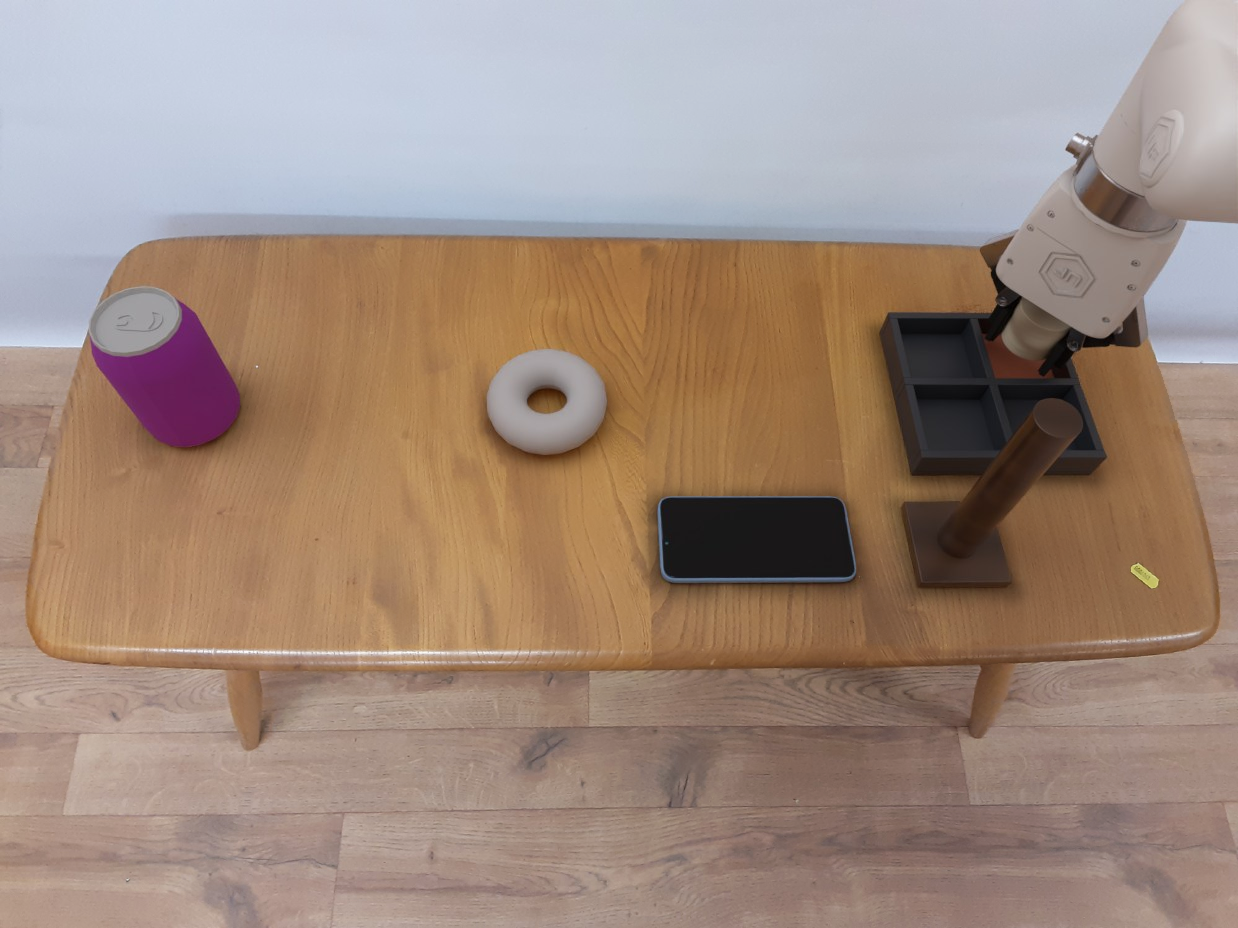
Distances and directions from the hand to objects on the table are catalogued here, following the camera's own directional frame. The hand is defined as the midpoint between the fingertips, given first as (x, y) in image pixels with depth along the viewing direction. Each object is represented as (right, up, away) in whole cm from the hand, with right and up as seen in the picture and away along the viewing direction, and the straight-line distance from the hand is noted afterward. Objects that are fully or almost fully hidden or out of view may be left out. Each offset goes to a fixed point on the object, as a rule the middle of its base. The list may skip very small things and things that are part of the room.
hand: (1022, 347), depth 77 cm
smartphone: (-24, -16, -7) cm, 30 cm away
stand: (-9, -17, -7) cm, 20 cm away
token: (0, +1, -1) cm, 1 cm away
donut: (-41, -6, -2) cm, 41 cm away
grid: (-4, -5, 0) cm, 6 cm away
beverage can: (-70, -6, -3) cm, 70 cm away
